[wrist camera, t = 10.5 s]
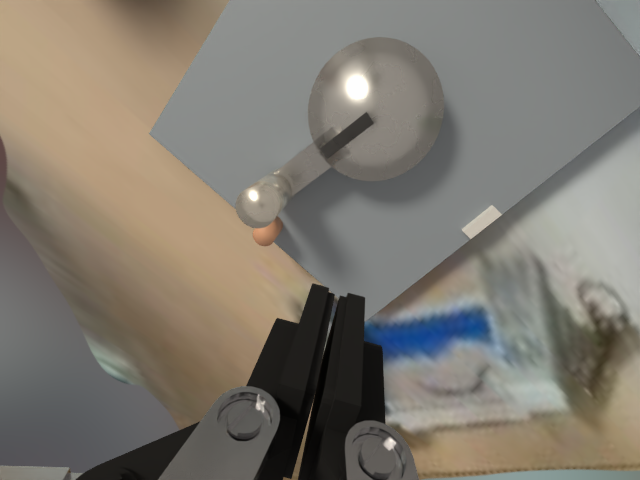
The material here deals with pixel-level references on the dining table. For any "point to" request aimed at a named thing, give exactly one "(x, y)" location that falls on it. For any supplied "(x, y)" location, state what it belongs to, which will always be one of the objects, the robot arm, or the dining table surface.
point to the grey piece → (358, 123)
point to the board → (450, 145)
